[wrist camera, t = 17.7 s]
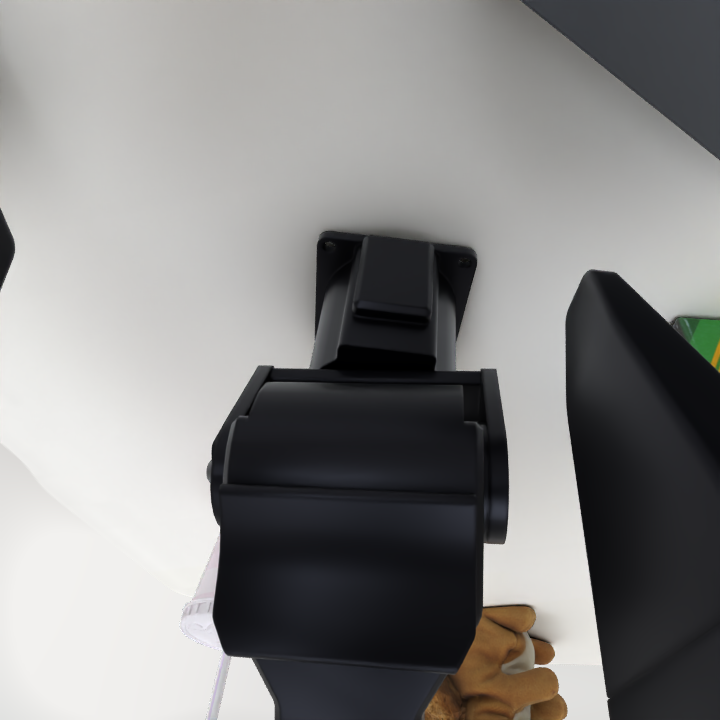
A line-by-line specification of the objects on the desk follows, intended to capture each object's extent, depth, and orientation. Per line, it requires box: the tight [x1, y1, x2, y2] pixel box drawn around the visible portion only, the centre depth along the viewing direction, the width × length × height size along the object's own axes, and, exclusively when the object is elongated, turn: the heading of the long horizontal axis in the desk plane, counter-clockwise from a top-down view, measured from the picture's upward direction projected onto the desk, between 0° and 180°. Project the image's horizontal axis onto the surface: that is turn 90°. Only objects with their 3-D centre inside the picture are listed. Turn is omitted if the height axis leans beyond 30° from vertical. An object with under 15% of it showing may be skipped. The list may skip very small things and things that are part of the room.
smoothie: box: [179, 534, 231, 720], centre depth 35 cm, size 6×6×14 cm
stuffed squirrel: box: [425, 606, 567, 720], centre depth 50 cm, size 10×14×13 cm
